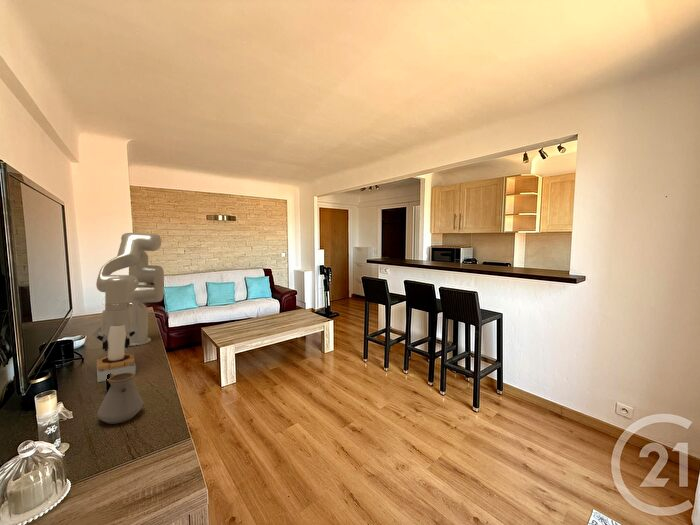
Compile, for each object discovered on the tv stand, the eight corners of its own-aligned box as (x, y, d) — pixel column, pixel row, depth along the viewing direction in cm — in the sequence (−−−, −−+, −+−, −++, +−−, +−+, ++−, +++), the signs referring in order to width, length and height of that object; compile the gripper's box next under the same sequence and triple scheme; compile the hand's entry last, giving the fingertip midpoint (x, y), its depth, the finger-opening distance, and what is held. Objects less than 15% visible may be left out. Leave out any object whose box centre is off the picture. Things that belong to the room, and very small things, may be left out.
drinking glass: (104, 358, 123) (105, 323, 122) (124, 355, 128) (125, 321, 127) (107, 363, 118) (108, 327, 117) (127, 359, 123) (128, 324, 122)
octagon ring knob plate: (96, 368, 125) (96, 356, 125) (131, 362, 133) (131, 350, 133) (97, 382, 113) (97, 368, 113) (135, 374, 121) (135, 361, 121)
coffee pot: (97, 414, 92) (98, 368, 92) (141, 403, 100) (142, 360, 99) (95, 451, 76) (95, 395, 75) (148, 435, 83) (149, 384, 83)
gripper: (140, 303, 130) (140, 342, 131) (89, 307, 119) (88, 350, 120) (143, 306, 125) (142, 347, 126) (89, 310, 113) (88, 355, 114)
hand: (116, 348), depth 123 cm, fingers closed on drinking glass, 6 cm apart
